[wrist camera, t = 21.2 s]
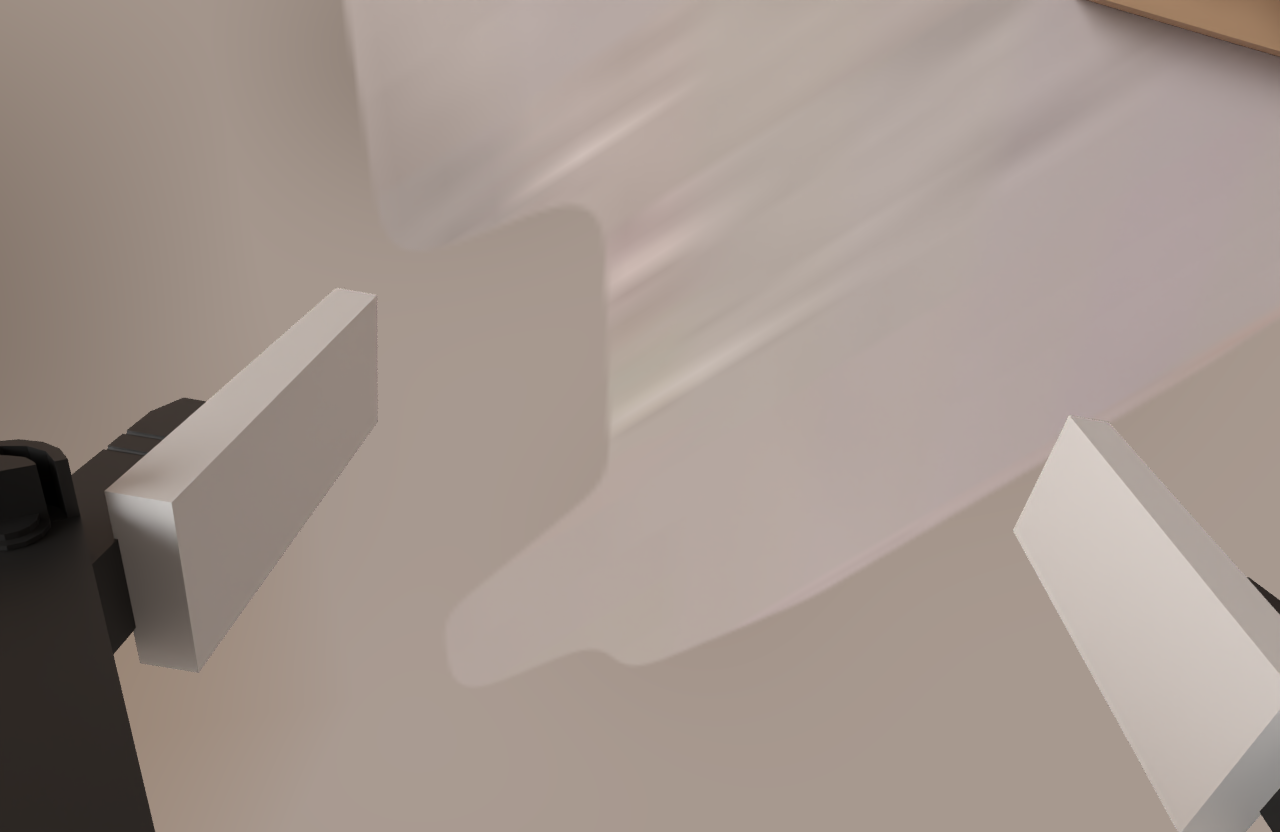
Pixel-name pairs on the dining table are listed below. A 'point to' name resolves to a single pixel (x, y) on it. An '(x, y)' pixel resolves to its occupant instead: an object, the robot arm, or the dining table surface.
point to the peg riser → (1215, 18)
